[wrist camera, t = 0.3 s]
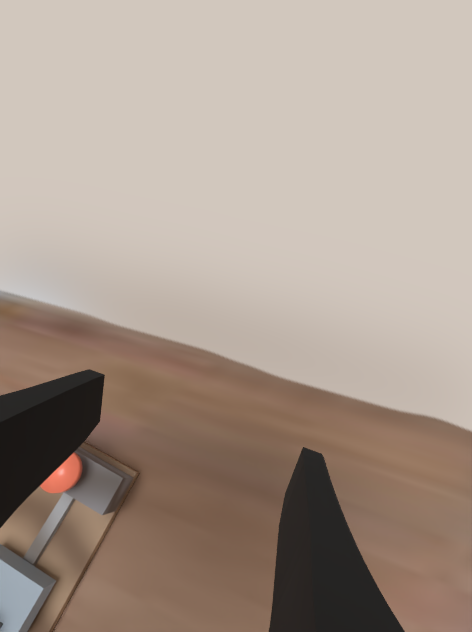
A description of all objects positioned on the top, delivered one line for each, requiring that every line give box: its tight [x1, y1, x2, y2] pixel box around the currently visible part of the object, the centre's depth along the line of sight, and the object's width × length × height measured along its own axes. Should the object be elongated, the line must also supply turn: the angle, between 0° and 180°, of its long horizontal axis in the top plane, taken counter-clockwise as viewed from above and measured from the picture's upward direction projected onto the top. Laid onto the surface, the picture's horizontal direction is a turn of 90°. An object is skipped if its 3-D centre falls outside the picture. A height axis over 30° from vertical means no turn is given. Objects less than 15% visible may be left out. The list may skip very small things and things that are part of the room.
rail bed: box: [0, 442, 139, 632], centre depth 34 cm, size 17×10×5 cm, turn 154°
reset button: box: [40, 453, 82, 493], centre depth 32 cm, size 4×4×1 cm
